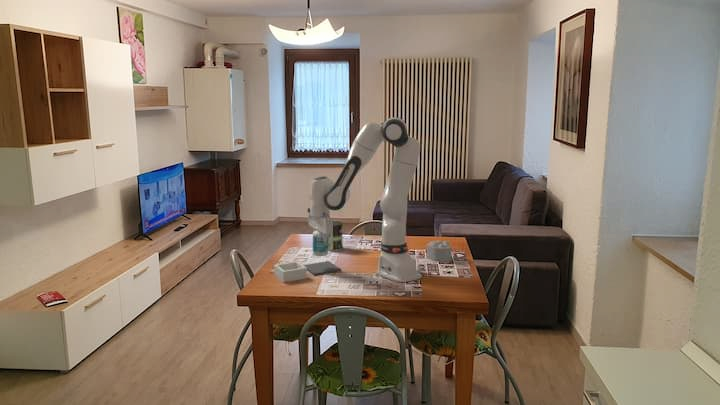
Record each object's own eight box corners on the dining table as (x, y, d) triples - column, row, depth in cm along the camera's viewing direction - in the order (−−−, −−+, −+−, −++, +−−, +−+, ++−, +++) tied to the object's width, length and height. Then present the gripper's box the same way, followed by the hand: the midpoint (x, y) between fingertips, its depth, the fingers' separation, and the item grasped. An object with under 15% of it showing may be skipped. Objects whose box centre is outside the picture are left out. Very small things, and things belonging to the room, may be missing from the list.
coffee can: (343, 246, 304) (342, 221, 301) (342, 251, 294) (342, 225, 291) (324, 246, 304) (323, 221, 302) (322, 251, 294) (322, 225, 291)
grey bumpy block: (440, 254, 289) (440, 237, 288) (456, 260, 278) (457, 243, 277) (424, 257, 284) (424, 240, 282) (440, 263, 273) (440, 246, 271)
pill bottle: (316, 257, 259) (316, 229, 257) (310, 253, 266) (310, 225, 263) (330, 255, 263) (331, 227, 260) (324, 251, 269) (324, 224, 267)
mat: (341, 270, 263) (341, 268, 263) (314, 275, 257) (314, 273, 256) (328, 262, 275) (328, 260, 275) (302, 267, 269) (302, 265, 268)
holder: (307, 278, 253) (306, 267, 252) (283, 282, 248) (283, 271, 247) (297, 271, 263) (297, 261, 262) (274, 275, 257) (274, 264, 256)
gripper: (336, 214, 253) (336, 244, 256) (317, 206, 270) (317, 234, 273) (323, 216, 250) (323, 246, 253) (305, 207, 267) (305, 235, 270)
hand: (320, 239), depth 263 cm, fingers closed on pill bottle, 7 cm apart
